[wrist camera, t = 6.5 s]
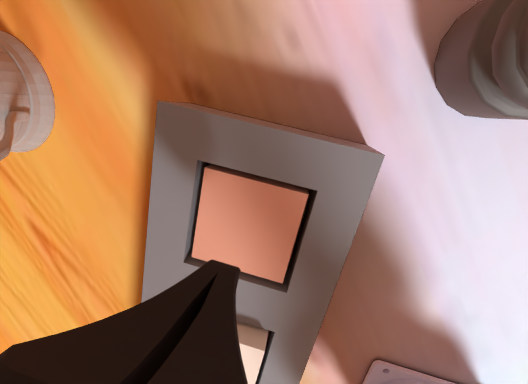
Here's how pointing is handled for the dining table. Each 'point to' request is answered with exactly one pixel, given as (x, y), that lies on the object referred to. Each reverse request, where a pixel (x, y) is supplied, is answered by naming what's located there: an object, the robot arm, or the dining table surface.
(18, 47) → the glass holder
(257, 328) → the cream key
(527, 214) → the dining table surface
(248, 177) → the terracotta key
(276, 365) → the key panel
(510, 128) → the dining table surface
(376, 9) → the dining table surface
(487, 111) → the candle holder
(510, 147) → the dining table surface
